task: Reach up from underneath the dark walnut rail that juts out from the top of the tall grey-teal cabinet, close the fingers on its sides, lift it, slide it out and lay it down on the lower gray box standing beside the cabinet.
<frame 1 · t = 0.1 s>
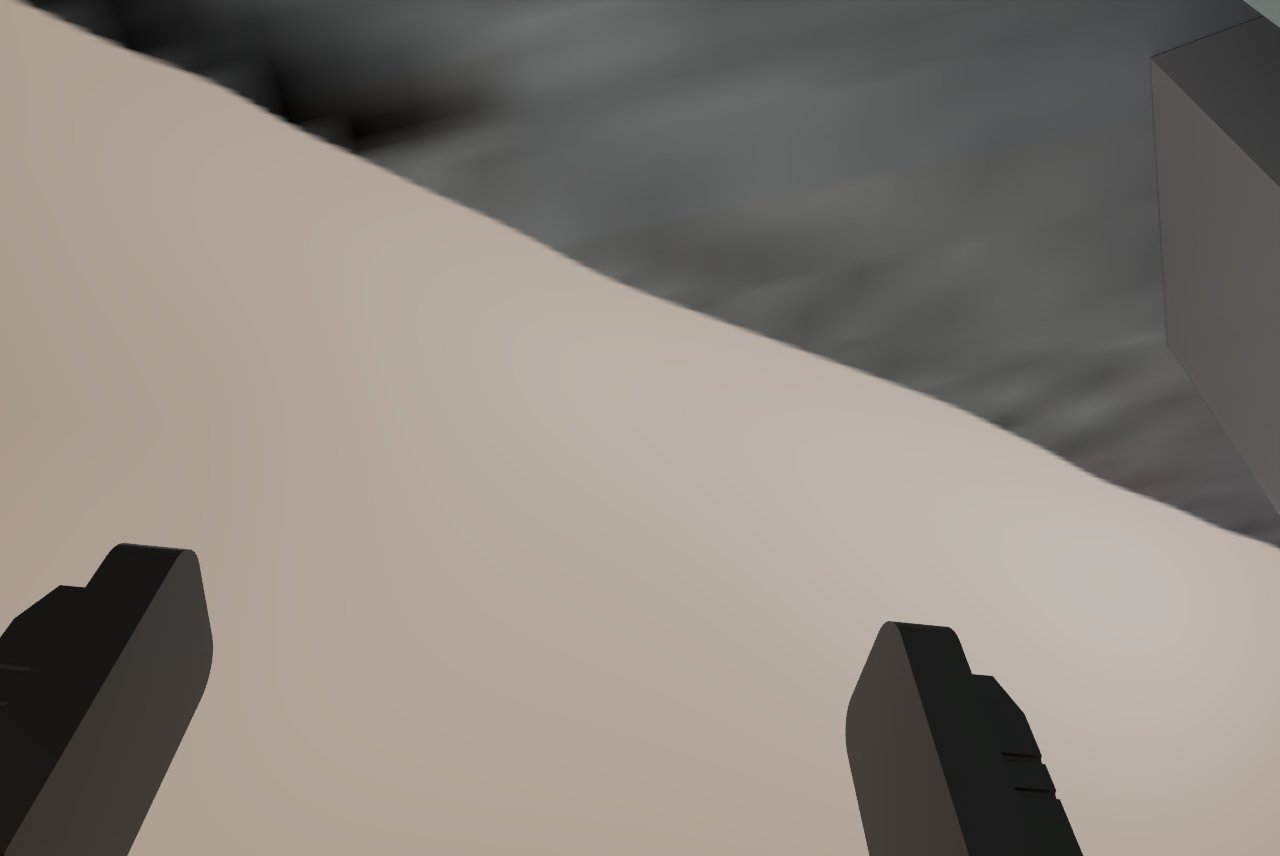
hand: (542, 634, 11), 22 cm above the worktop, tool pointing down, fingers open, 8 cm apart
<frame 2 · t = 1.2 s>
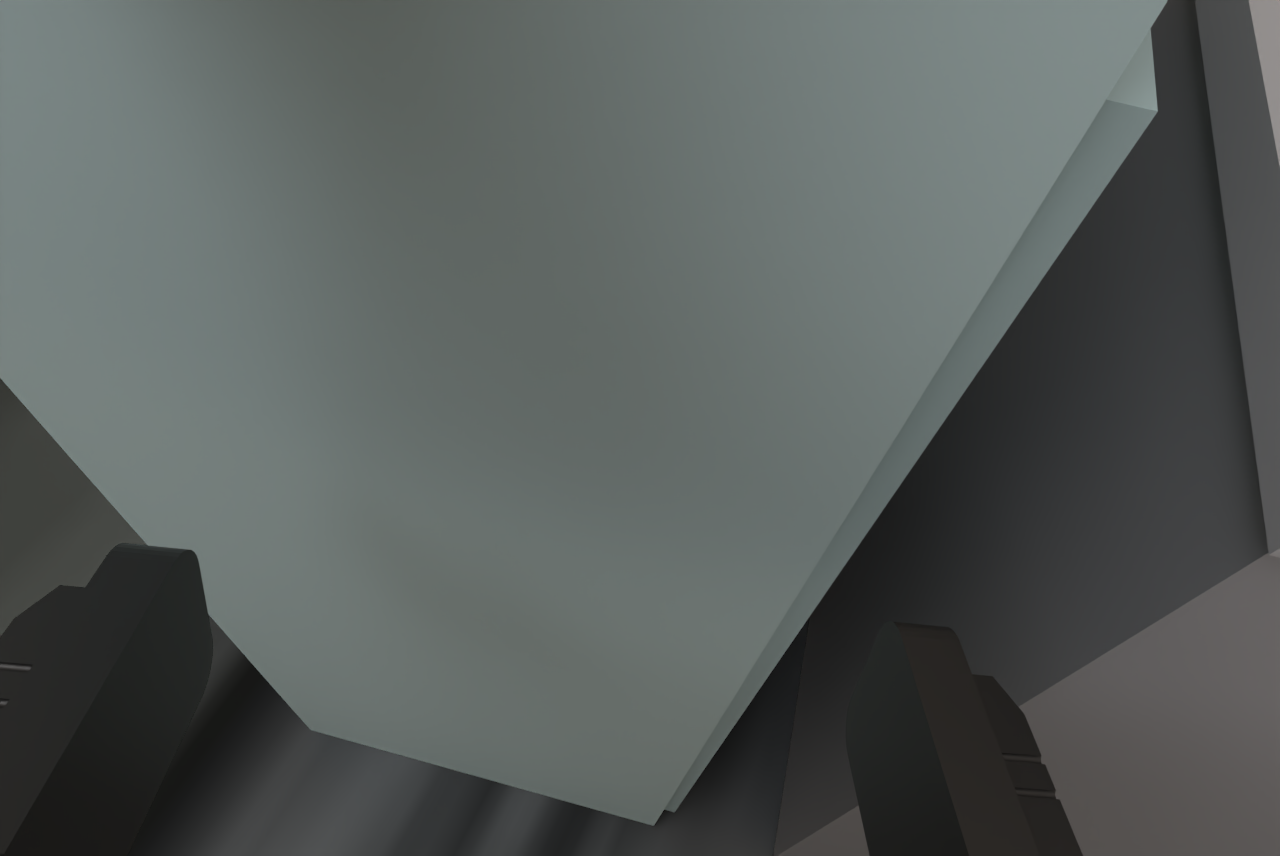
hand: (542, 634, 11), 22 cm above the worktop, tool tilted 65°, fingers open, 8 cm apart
teal cabinet: (557, 540, 36), on the worktop
gray box: (967, 648, 35), on the worktop
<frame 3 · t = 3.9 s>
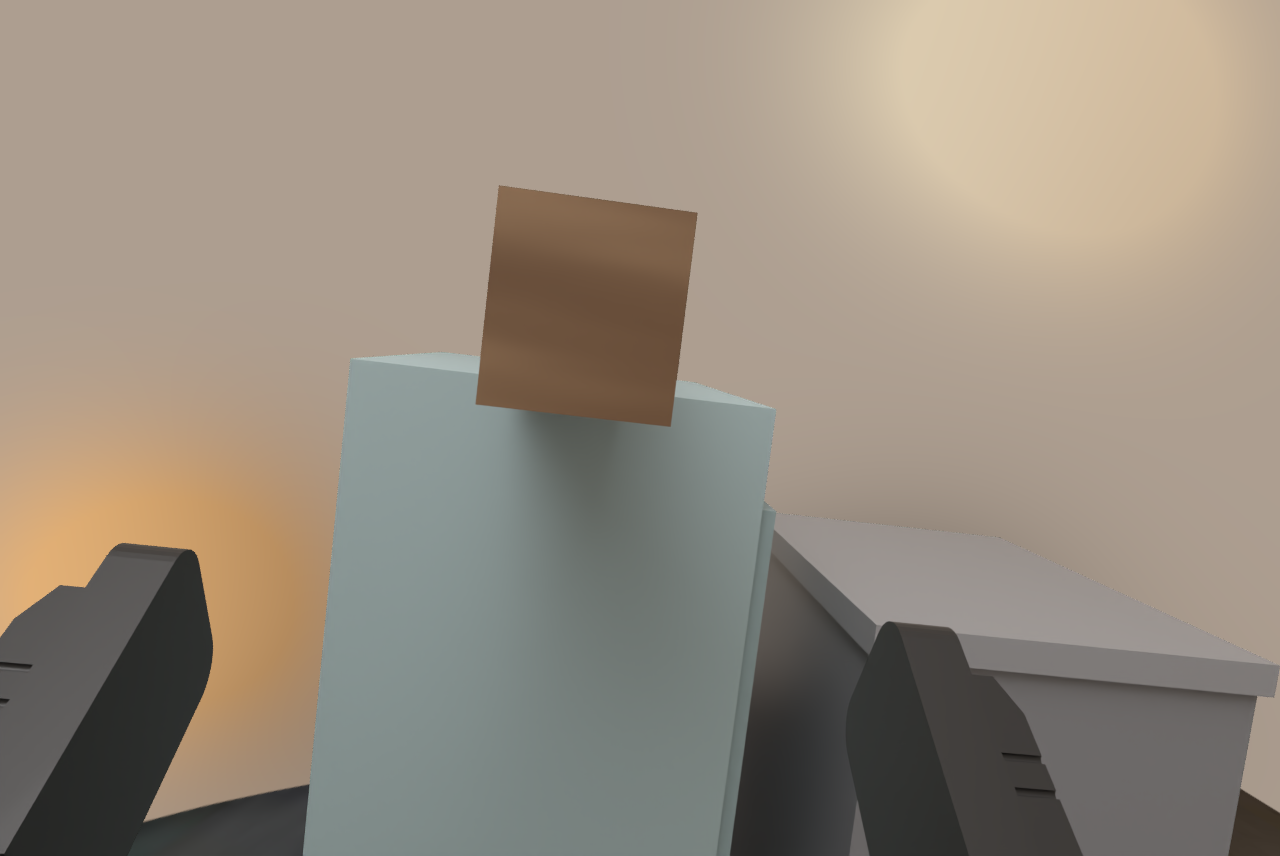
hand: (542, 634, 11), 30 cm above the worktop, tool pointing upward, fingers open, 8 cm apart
walnut rail: (567, 380, 29), point 32 cm above the worktop, touching teal cabinet
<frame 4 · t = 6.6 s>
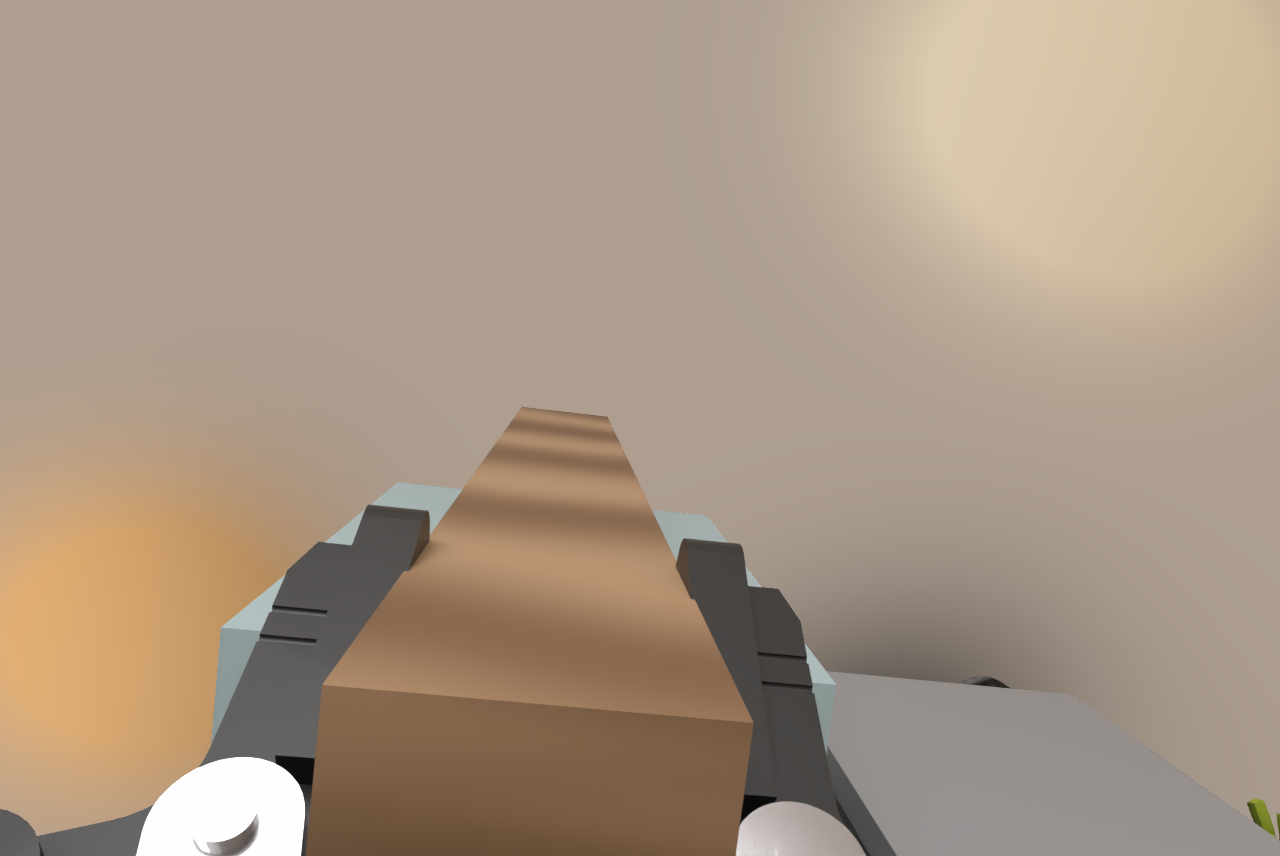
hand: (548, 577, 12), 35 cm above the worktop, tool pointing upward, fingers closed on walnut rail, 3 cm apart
walnut rail: (543, 612, 21), point 32 cm above the worktop, touching gripper, teal cabinet
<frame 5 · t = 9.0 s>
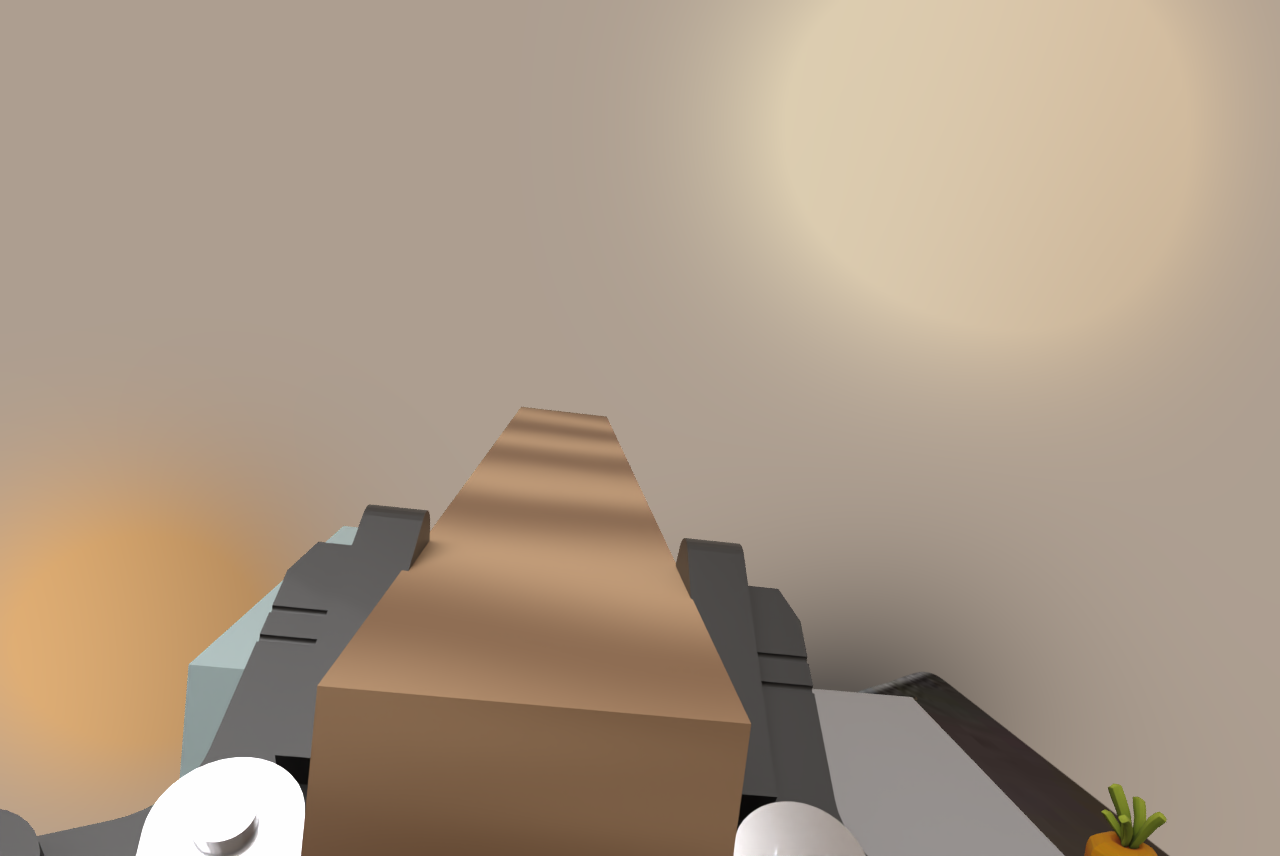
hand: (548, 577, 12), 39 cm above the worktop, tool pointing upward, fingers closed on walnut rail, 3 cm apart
walnut rail: (542, 612, 21), point 36 cm above the worktop, touching gripper
when the fingers open (31 cm above the worktop, at t = 11.8 s): walnut rail stays where it is, resting on gray box.
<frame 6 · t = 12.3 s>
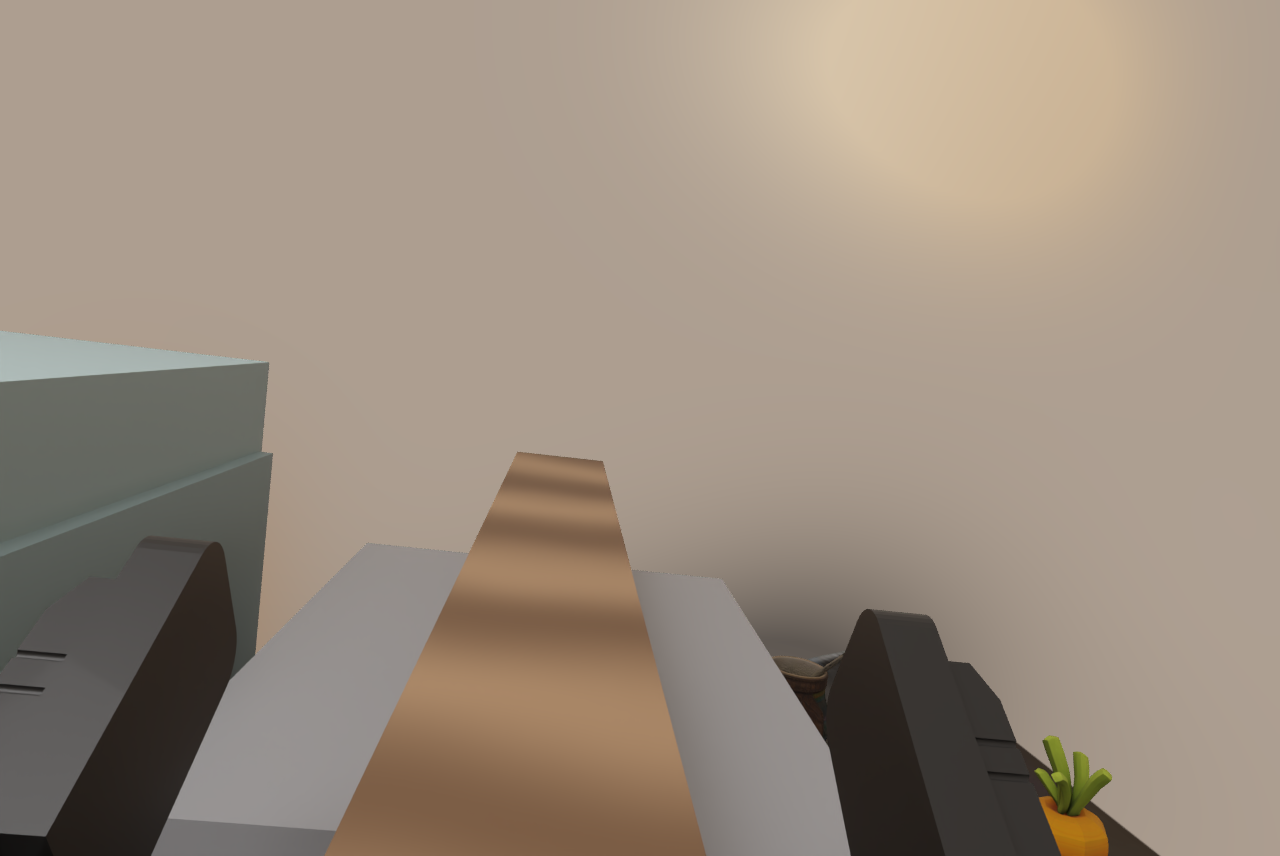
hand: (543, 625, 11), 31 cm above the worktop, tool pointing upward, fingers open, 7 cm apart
walnut rail: (535, 684, 21), point 26 cm above the worktop, touching gray box
mate gourd: (785, 754, 83), on the worktop
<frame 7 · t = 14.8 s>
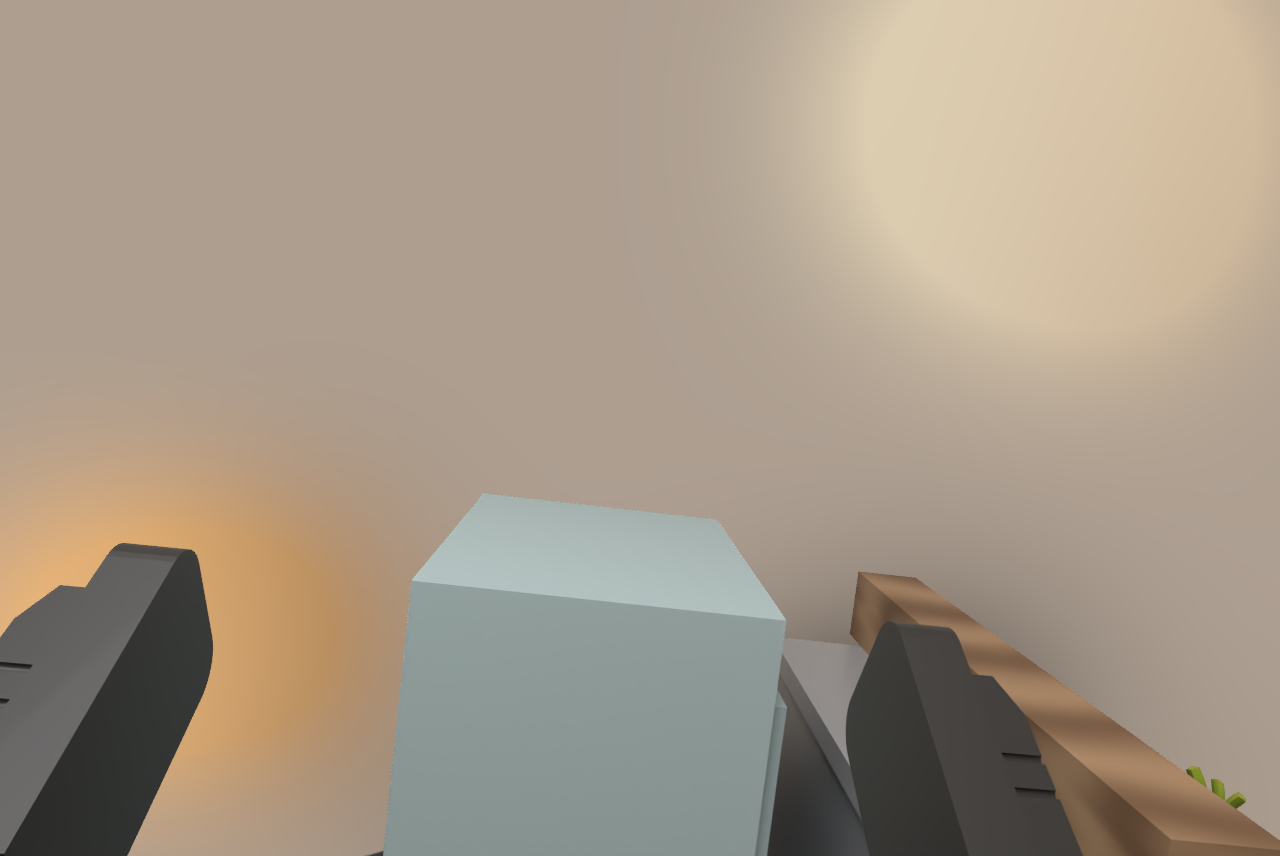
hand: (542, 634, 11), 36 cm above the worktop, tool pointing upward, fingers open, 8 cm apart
walnut rail: (981, 743, 37), point 26 cm above the worktop, touching gray box
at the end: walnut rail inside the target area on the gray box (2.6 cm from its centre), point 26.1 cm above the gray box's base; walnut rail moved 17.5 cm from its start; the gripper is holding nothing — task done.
